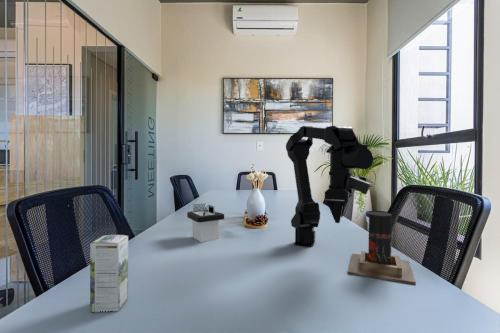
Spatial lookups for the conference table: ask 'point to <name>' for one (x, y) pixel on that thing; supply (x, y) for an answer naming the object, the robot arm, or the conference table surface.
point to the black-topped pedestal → (205, 223)
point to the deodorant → (380, 238)
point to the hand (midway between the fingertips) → (339, 219)
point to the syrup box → (108, 273)
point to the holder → (381, 269)
